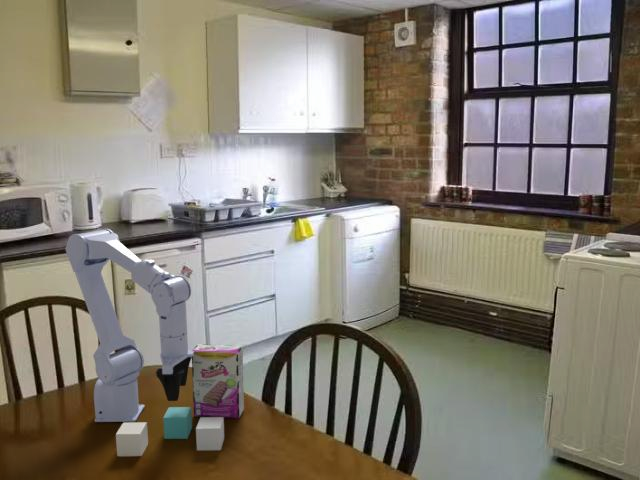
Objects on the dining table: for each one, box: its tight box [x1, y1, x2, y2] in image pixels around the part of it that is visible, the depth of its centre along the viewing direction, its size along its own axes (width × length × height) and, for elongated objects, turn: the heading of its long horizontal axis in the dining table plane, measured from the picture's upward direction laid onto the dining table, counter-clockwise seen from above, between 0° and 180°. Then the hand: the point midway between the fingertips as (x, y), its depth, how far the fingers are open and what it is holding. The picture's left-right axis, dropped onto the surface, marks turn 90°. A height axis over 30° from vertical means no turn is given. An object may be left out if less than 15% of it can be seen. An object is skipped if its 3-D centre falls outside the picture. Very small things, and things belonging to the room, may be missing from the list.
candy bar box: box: [191, 343, 245, 419], centre depth 141 cm, size 11×5×16 cm, turn 84°
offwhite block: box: [115, 421, 149, 457], centre depth 126 cm, size 5×5×5 cm
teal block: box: [162, 406, 193, 440], centre depth 133 cm, size 5×5×5 cm
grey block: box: [195, 417, 225, 451], centre depth 128 cm, size 5×5×5 cm
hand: (177, 392), depth 131 cm, fingers open, 7 cm apart
